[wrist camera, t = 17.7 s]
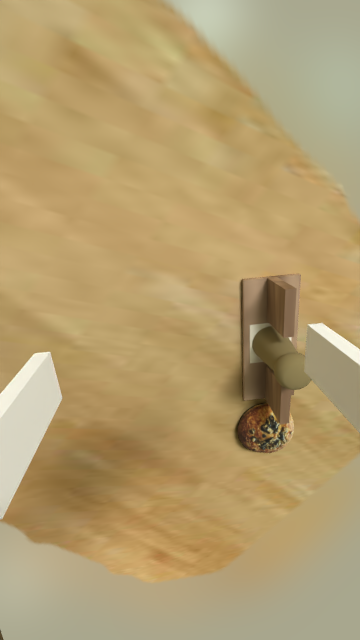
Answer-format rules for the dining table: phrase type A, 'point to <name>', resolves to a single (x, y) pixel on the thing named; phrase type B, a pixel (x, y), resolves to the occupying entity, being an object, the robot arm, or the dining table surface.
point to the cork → (281, 358)
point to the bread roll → (264, 430)
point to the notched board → (282, 314)
